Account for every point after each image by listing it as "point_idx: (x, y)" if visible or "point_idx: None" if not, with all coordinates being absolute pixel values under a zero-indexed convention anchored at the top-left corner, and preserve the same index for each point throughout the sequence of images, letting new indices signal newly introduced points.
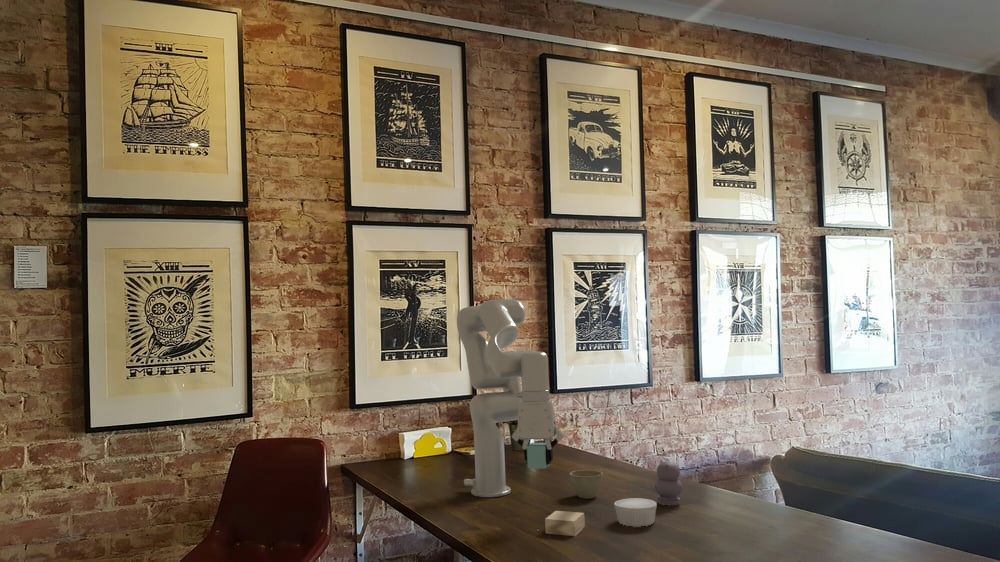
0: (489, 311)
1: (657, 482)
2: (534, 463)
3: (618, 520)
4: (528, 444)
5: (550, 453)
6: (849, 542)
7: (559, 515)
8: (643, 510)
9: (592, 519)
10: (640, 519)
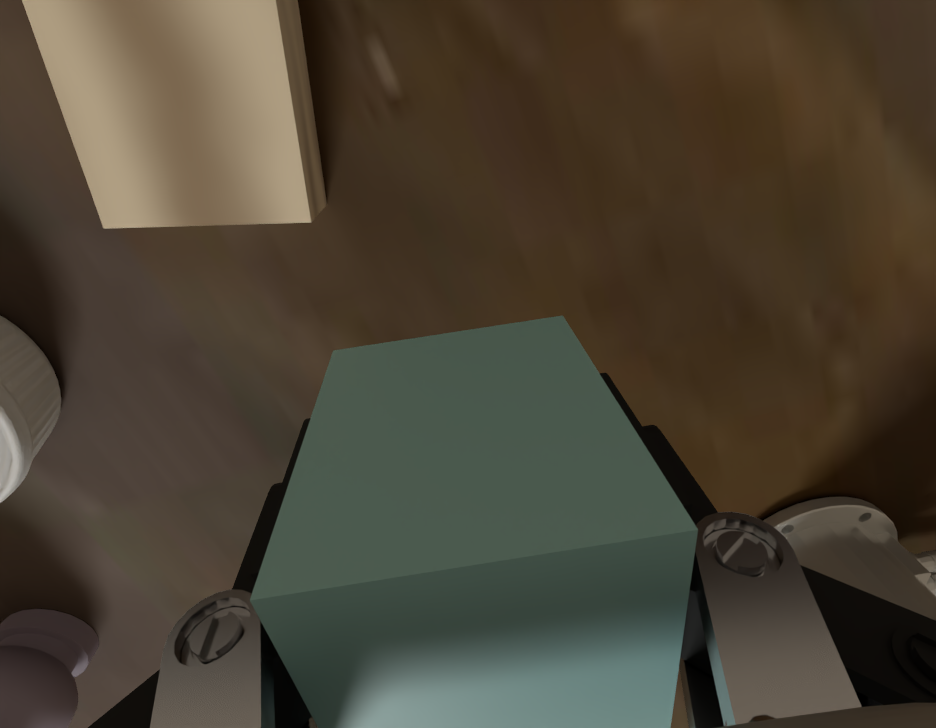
0: None
1: (16, 713)
2: (478, 356)
3: (11, 330)
4: (699, 675)
5: (256, 553)
6: None
7: (221, 110)
8: None
9: (199, 353)
10: None
